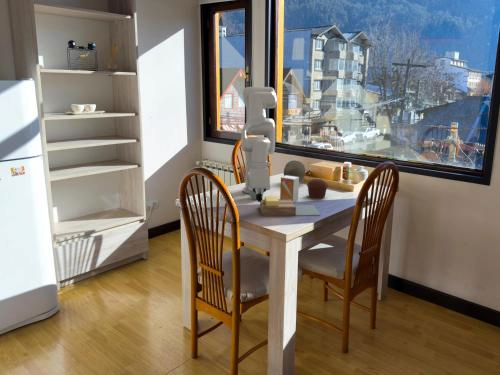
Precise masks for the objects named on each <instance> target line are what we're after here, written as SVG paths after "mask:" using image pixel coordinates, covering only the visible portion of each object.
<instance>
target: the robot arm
mask: <svg viewBox="0 0 500 375" xmlns="http://www.w3.org/2000/svg"><path fill="white" fill-rule="evenodd" d="M242 99H243V103H244V105H245V108H246V123H244V125H243V127H242V129H241V133H240V134H241V135H240V137H241V139H240V141H241V142H240V143H241V149H242V151H243V152H244V155H245V186H244V188H243V189H242V192H243V194H248V195H250V193H249V190H251V191H254V192H255V193H256V200H255V201H257V203H260V202H261V200H263V196H262V194H263V195H264V193H265V192H267V191H270V190H271V176H270V168H269V166H271V162H268V161H269V160H268V158H269V157H268V155H272V154H274V152H275V150H276V123H275V121H274V119H273V118H269V117H268V118H267V115H266V114H267V113H266V109H275V108H276V107H277V104H278V96H277V93H276V90H275V89H274V88H273V87H271V86H247V87H244V88H243V89H242ZM247 133H248V134H247ZM248 135H250V136H248ZM265 136H266V137H265ZM249 171H250V173H249V186H248V180H247V177H246V175H247V173H248V172H249ZM258 188H261V190H260V193H259V192H258Z"/></svg>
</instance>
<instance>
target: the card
mask: <svg viewBox="0 0 500 375" xmlns="http://www.w3.org/2000/svg"><path fill="white" fill-rule="evenodd" d="M278 199H279V198H278V196H277V195H265V196H264V200H265V203H266V206H279V200H278Z"/></svg>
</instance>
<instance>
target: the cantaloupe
mask: <svg viewBox="0 0 500 375" xmlns="http://www.w3.org/2000/svg"><path fill="white" fill-rule="evenodd" d="M286 175H287V176H294V177H299V183H300V182H302V181H303V180H304V179H305V177H306V167H305V164H304V163H303V162H301V161H300V160H299V161H298V160H290V161H288V162H286V164H285V166H284V169H283V176H286Z"/></svg>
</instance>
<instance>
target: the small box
mask: <svg viewBox="0 0 500 375" xmlns="http://www.w3.org/2000/svg"><path fill="white" fill-rule="evenodd" d="M299 185H300V182H299V177H294V176H287V175H286V176H284V175H283V176H281V177H280V191H279V192H280V193H279V194H280V195H279V199H291V200H292V202H293V203H295V202H298V201H299V189H300V188H299V187H300V186H299Z"/></svg>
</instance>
